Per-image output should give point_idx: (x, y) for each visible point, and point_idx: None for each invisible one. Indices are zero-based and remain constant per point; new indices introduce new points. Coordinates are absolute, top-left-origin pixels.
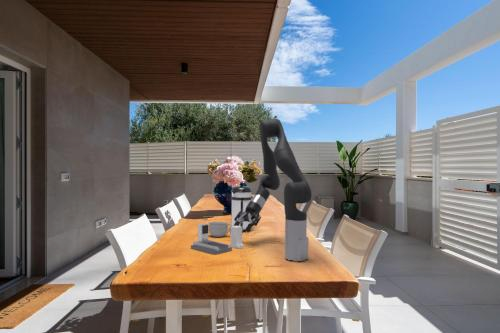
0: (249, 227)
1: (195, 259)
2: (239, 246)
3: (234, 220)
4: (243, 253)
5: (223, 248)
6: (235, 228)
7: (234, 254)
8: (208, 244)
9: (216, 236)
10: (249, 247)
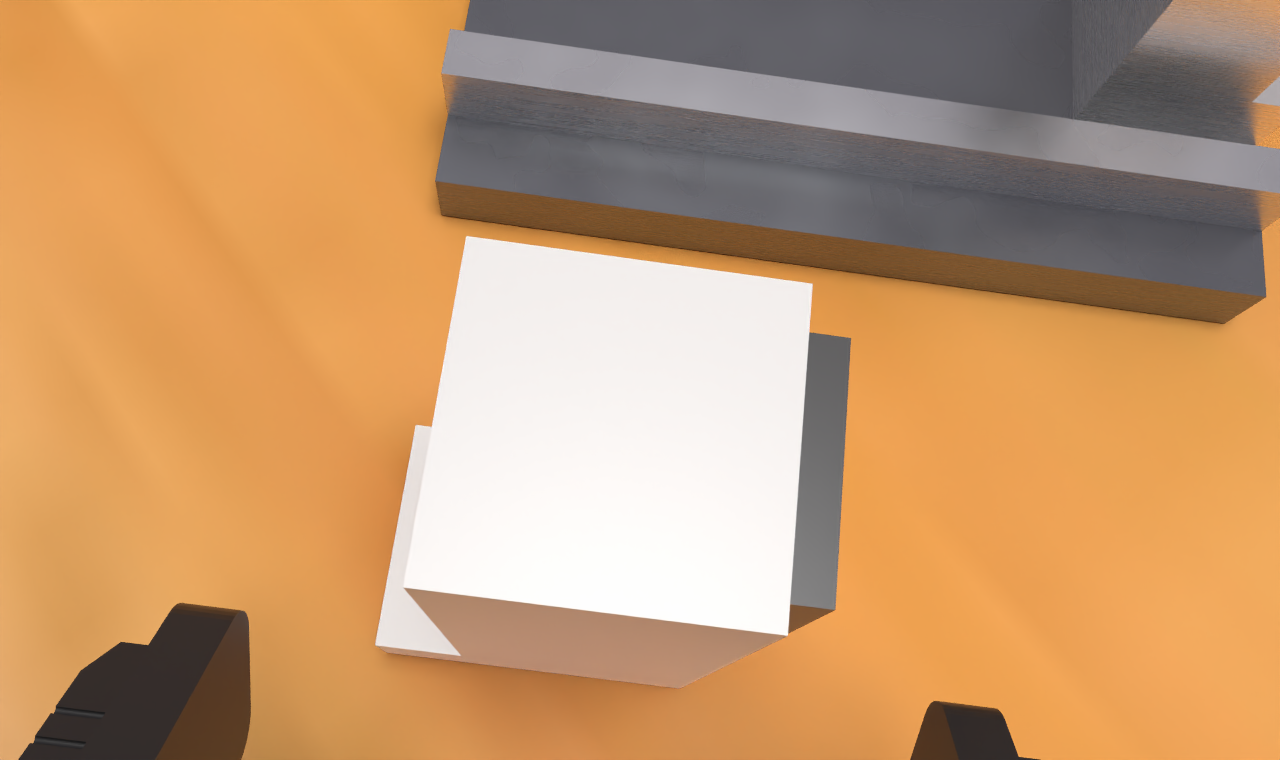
0: (38, 735)
1: None
2: (412, 469)
3: None
4: (85, 170)
5: (529, 10)
6: (525, 262)
7: (212, 13)
8: (1047, 109)
9: None
10: (257, 738)
